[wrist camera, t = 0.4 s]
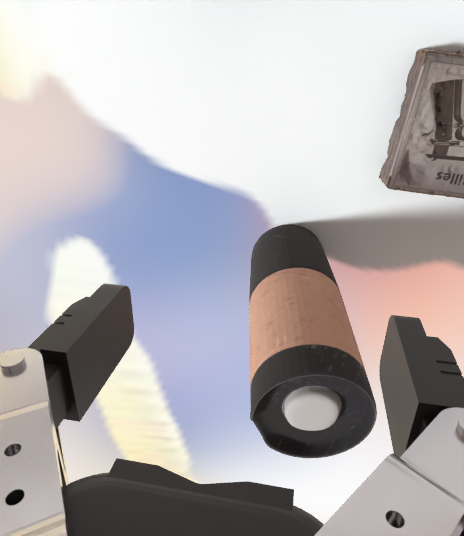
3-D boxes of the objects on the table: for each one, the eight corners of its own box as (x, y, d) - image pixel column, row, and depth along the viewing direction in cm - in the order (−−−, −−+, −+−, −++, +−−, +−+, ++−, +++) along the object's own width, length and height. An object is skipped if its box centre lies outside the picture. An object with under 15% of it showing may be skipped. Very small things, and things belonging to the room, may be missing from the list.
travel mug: (339, 236, 41) (405, 394, 24) (305, 297, 45) (341, 471, 27) (266, 210, 40) (280, 356, 23) (237, 274, 44) (231, 442, 26)
